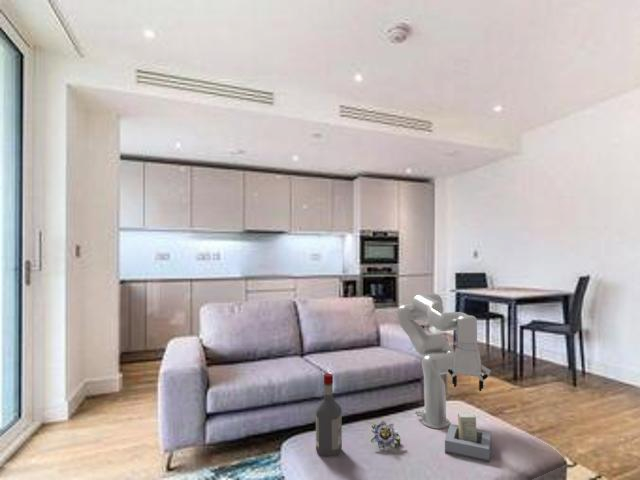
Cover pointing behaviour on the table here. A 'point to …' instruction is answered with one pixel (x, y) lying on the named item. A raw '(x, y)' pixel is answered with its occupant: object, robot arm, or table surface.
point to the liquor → (328, 422)
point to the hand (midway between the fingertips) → (467, 387)
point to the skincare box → (467, 427)
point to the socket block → (468, 444)
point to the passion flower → (385, 435)
